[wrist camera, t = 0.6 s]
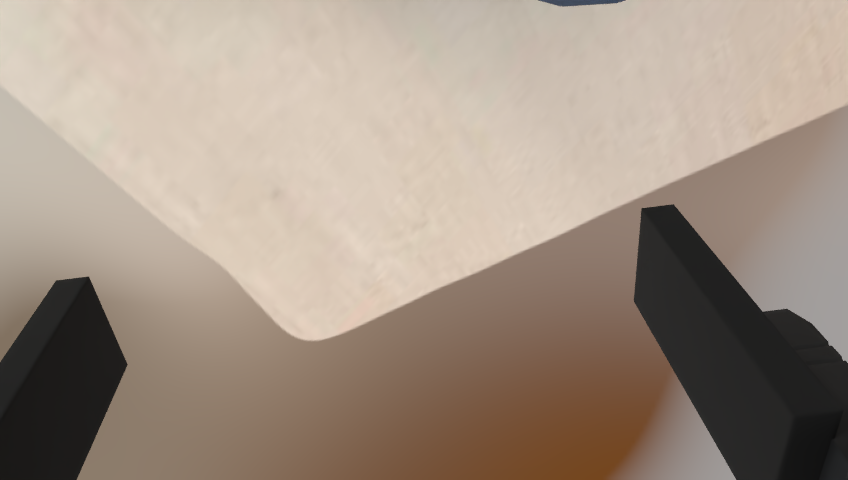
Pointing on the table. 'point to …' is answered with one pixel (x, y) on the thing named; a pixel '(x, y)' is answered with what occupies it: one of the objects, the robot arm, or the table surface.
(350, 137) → the table surface
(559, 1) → the bowl
